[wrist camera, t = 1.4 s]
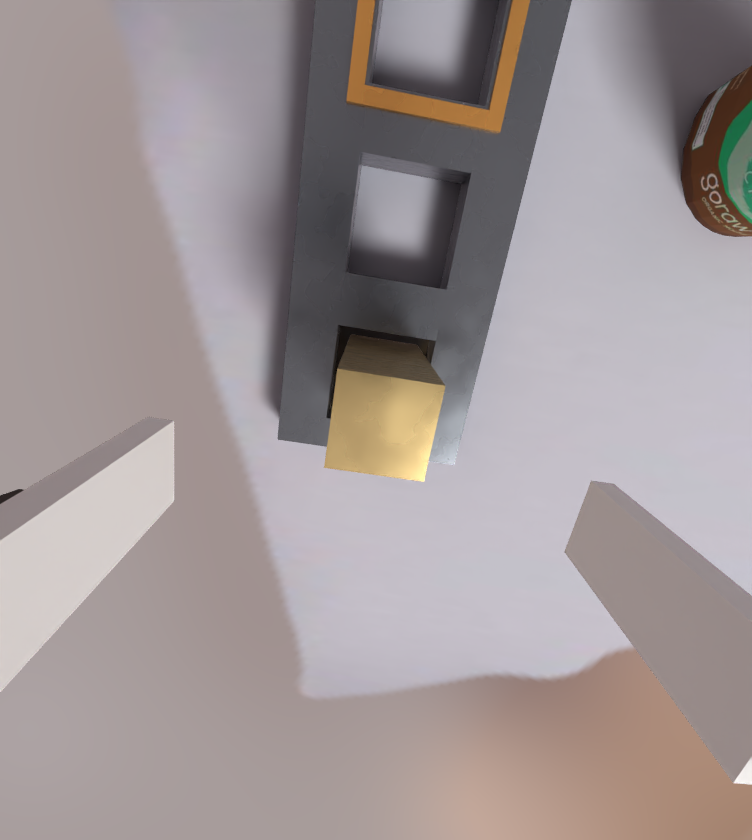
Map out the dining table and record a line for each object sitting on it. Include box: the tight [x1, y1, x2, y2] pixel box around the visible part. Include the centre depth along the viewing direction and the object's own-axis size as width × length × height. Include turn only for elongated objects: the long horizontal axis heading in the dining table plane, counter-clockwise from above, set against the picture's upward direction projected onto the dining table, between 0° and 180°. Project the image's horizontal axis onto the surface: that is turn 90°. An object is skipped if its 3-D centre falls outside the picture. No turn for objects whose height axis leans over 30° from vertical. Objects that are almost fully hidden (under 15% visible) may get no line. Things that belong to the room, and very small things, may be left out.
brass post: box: [324, 334, 445, 482], centre depth 22 cm, size 4×4×11 cm
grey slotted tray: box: [278, 0, 572, 465], centre depth 23 cm, size 28×12×3 cm, turn 171°
